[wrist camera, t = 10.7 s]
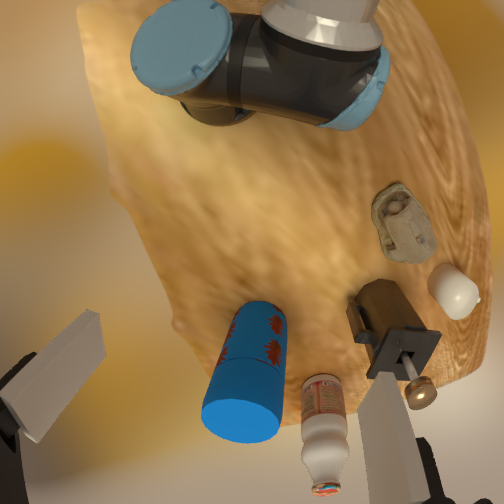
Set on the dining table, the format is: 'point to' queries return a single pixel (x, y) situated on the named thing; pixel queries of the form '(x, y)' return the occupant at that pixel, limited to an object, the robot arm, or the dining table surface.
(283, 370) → the thermos
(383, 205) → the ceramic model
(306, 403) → the fruit juice
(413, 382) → the plunger
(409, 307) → the press body
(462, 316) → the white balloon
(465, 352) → the dining table surface
